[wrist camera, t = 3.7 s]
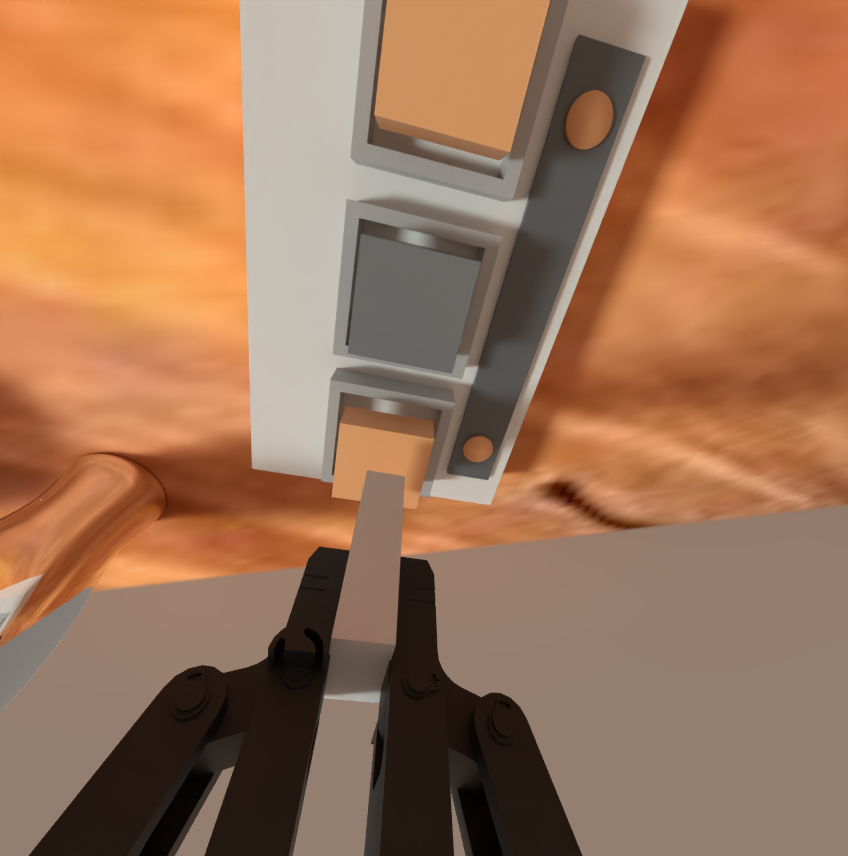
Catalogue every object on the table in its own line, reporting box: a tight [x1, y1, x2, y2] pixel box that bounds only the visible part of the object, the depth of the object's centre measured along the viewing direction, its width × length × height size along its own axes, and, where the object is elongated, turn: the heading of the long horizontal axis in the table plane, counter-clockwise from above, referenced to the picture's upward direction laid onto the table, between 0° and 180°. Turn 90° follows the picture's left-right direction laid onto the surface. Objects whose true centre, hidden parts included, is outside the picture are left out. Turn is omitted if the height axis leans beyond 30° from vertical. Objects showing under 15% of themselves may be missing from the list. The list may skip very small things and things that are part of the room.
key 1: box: [332, 406, 435, 509], centre depth 17 cm, size 4×4×2 cm
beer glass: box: [0, 454, 166, 713], centre depth 18 cm, size 7×7×15 cm
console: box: [240, 0, 688, 505], centre depth 16 cm, size 22×14×4 cm, turn 168°
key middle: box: [348, 233, 481, 374], centre depth 13 cm, size 4×4×2 cm
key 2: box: [374, 0, 550, 161], centre depth 10 cm, size 4×4×2 cm
